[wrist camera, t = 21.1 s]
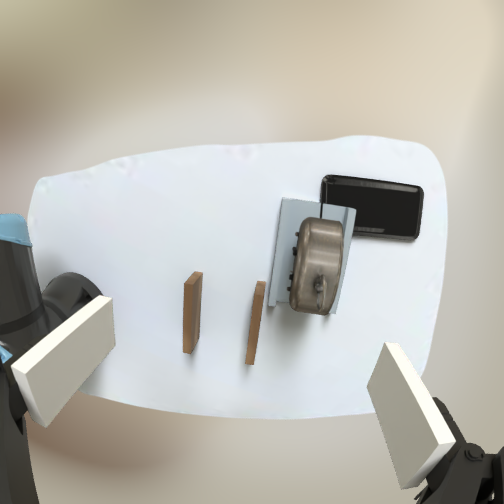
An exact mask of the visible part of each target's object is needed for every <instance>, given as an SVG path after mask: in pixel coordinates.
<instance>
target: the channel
mask: <svg viewBox="0 0 504 504" xmlns="http://www.w3.org/2000/svg"><path fill="white" fill-rule="evenodd" d="M202 275H203V273H202V272H194V273H193V274H192V275H191V276H190V277H189V279H188V280H187V281H186V282H185V283H184V307H183V353H188V354H191V353H192V351H193V349H194V347H195V345H196V343H197V341H198V339H199V333H200V311H201V292H202ZM265 285H266V282H263V281H257V285H256V289H255V293H254V300H253V308H252V316H251V324H250V331H249V339H248V347H247V354H246V362H245V364H250V365H254V360H255V354H256V348H257V341H258V334H259V327H260V321H261V314H262V307H263V300H264V292H265Z"/></svg>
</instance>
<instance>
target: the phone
mask: <svg viewBox="0 0 504 504" xmlns="http://www.w3.org/2000/svg"><path fill="white" fill-rule="evenodd" d="M423 199H424V192H423V189H422V188H421V187H420V186H416V185H409V184H403V183H396V182H389V181H382V180H375V179H367V178H359V177H350V176H341V175H326V176H325V177H324V178H323V179H322V185H321V199H320V203H321V208H320V218H322V212H323V204H330V205H336V206H342V207H348V208H353V209H355V210H356V215H355V221H354V227H353V233H352V235H360V236H371V237H382V238H393V239H404V240H415V239H416V238H418V236H419V233H420V225H421V217H422V209H423Z"/></svg>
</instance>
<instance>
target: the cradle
mask: <svg viewBox="0 0 504 504" xmlns="http://www.w3.org/2000/svg"><path fill="white" fill-rule="evenodd" d="M320 208H321V203H319V202H312V201H305V200H298V199H291V198H284V197H283V200H282V208H281V215H280V223H279V231H278V238H277V245H276V252H275V260H274V267H273V274H272V281H271V288H270V294H269V302H268V306H275V305H276V301H280V302H287V303H289V294H290V291H287V287H290V286H291V280H289V275H290V274H292V273H291V272H290V271H292V272H293V265H294V259H295V256H294V255H293V250H292V248H293V247H296V246H297V240H298V236H295V233H296V232H299V228H300V225H301V223H302V221H303V220H304V219H306V218H307V217H316V218H320ZM355 215H356V210H355V209H353V208H348V207H342V206H336V205H330V204H323V212H322V219H329V220H335V221H340V222H341V223H342V226H343V232H344V251H343V261H342V268H341V275H340V281H339V286H338V290H337V294H336V297H335V301H334V304H333V306H332V308H331V310H330V312H329V313H332V314H336V310H337V305H338V301H339V297H340V292H341V288H342V283H343V279H344V274H345V269H346V265H347V260H348V254H349V249H350V244H351V239H352V233H353V227H354V221H355Z"/></svg>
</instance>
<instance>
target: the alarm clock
mask: <svg viewBox="0 0 504 504" xmlns="http://www.w3.org/2000/svg"><path fill="white" fill-rule="evenodd" d="M295 236H298V240H297V246H296V247H293V248H292V250H293V255H294V256H295V259H294V265H293V272H292V271H290V272H291V273H292V274H290V275H289V280H291V286H290V287H287V291H290V294H289V303H290V306H291V307H292V309H294V310H295V311H297V312H304V313H311V314H319V315H324V316H325V315H327V314H328V313H329V312H330V310H331V308H332V306H333V304H334V301H335V297H336V294H337V290H338V286H339V281H340V275H341V268H342V261H343V251H344V232H343V226H342V223H341V222H340V221H335V220H329V219H322V218H316V217H307V218H306V219H304V220H303V221H302V223H301V225H300V228H299V232H296V233H295Z"/></svg>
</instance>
